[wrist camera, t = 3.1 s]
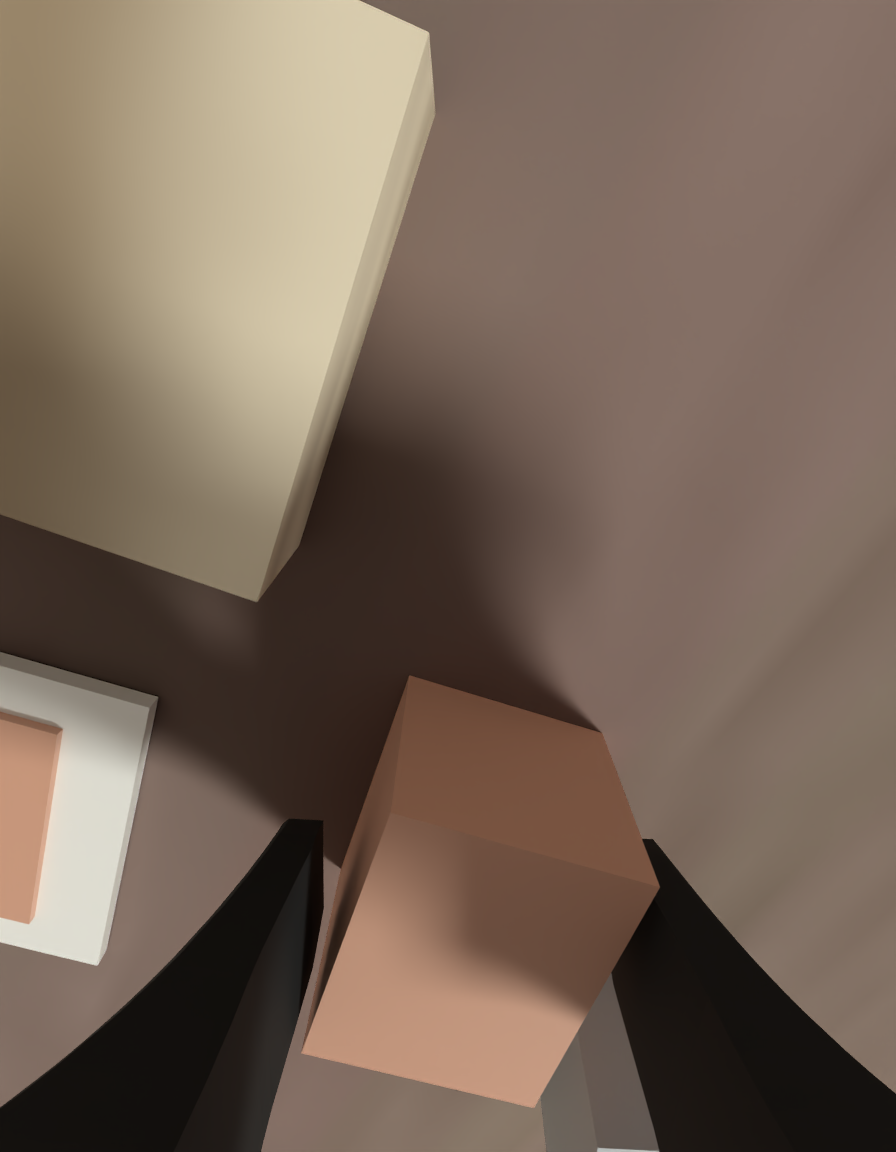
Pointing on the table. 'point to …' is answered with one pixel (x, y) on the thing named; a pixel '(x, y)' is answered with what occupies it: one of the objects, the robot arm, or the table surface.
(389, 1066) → the terracotta block
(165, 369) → the maple block
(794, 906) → the table surface
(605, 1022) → the grey block
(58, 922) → the tile
